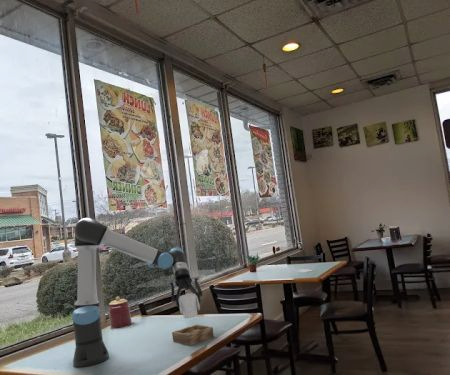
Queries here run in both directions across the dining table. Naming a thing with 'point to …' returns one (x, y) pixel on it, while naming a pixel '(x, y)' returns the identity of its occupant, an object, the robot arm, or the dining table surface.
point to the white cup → (189, 305)
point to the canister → (119, 313)
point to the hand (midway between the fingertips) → (190, 310)
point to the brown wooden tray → (192, 334)
